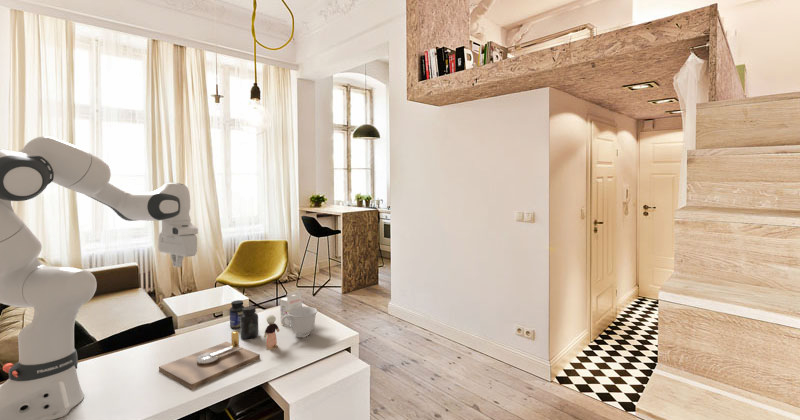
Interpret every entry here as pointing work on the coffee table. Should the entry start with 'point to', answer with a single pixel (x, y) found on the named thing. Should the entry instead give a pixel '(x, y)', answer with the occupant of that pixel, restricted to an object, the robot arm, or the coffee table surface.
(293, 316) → the teacup
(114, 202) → the robot arm
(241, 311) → the pill bottle
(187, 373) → the base plate
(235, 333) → the lever
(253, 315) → the supplement bottle
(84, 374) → the coffee table surface
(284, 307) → the ink cartridge box
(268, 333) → the grandmother figurine
